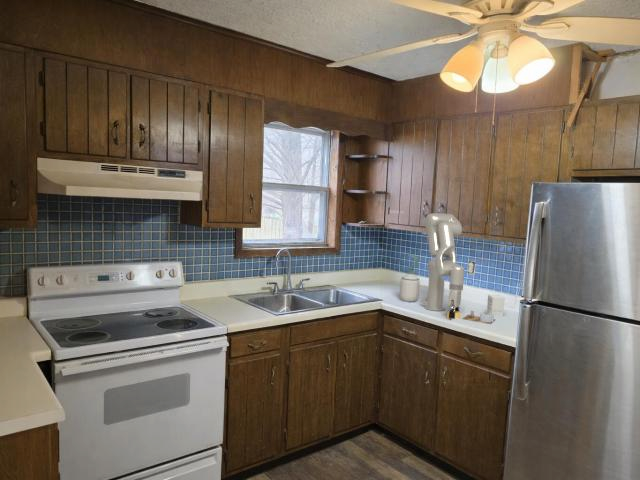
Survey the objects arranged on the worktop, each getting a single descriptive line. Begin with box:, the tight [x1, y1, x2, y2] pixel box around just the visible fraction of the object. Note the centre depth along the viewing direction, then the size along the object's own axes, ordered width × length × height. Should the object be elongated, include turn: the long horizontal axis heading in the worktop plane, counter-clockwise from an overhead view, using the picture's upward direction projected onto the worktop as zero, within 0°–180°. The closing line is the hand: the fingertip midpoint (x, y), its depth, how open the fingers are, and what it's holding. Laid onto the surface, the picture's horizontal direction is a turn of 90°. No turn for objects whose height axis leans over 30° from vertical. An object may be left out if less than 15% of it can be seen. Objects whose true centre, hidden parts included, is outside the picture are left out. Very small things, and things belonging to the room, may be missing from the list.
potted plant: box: [399, 253, 421, 303], centre depth 312 cm, size 12×12×31 cm
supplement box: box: [486, 294, 505, 318], centre depth 280 cm, size 7×7×13 cm
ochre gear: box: [446, 310, 462, 321], centre depth 270 cm, size 7×7×4 cm
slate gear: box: [479, 311, 495, 323], centre depth 266 cm, size 7×7×4 cm
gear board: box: [461, 310, 496, 325], centre depth 268 cm, size 16×13×7 cm
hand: (453, 317), depth 271 cm, fingers closed on ochre gear, 7 cm apart
